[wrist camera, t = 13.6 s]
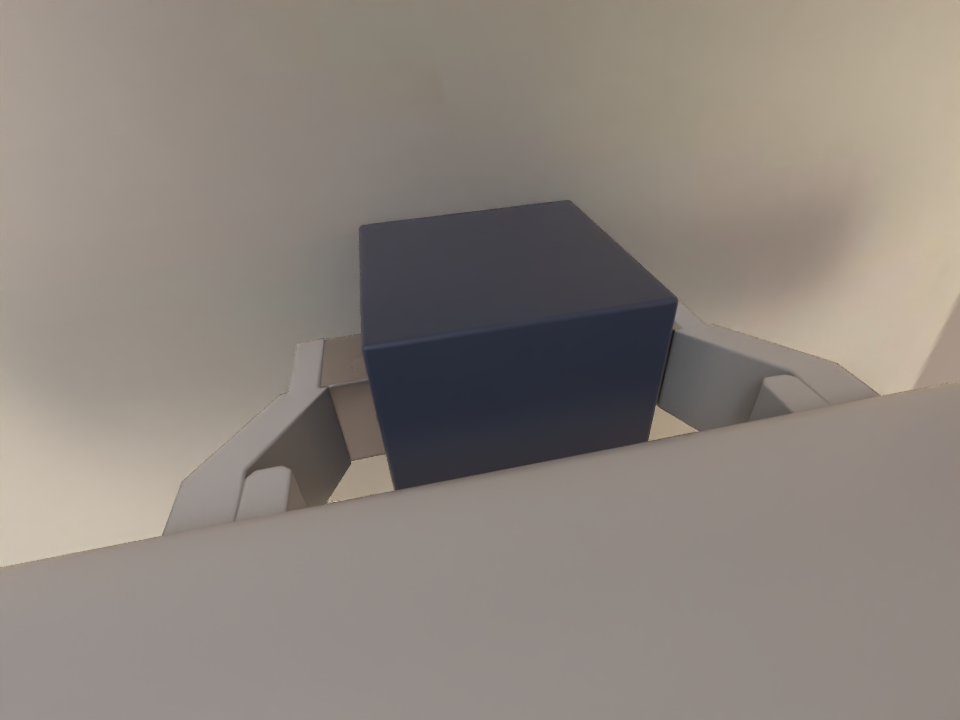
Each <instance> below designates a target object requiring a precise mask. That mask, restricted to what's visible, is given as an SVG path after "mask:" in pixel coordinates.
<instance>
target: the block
mask: <svg viewBox="0 0 960 720" xmlns="http://www.w3.org/2000/svg"><path fill="white" fill-rule="evenodd" d="M359 260H360V317H361V351H362V356H363V360H364V364H365V368H366V373H367V377H368V381H369V385H370V389H371V394H372V398H373V402H374V406H375V411H376V415H377V419H378V423H379V427H380V432H381V436H382V440H383V444H384V449H385V453H386V457H387V461H388V465H389V470H390V474H391V478H392V482H393V486H394V491H396V490H401V489H406V488H411V487H416V486H421V485H426V484H432V483H437V482H442V481H447V480H452V479H457V478H462V477H468V476H473V475H478V474H483V473H488V472H493V471H499V470H504V469H509V468H514V467H519V466H524V465H529V464H535V463H540V462H545V461H550V460H555V459H560V458H565V457H571V456H576V455H581V454H586V453H591V452H596V451H601V450H607V449H612V448H617V447H622V446H627V445H632V444H637V443H642V442H647V441H648V438H649V434H650V429H651V425H652V420H653V416H654V411H655V406H656V402H657V397H658V393H659V388H660V384H661V379H662V375H663V370H664V366H665V361H666V357H667V352H668V347H669V343H670V338H671V334H672V329H673V325H674V320H675V316H676V311H677V307H678V299H677V297H676V296H675V295H674V294H673V293H672V292H670V291H669V290H668V289H667V288H666V287H665V286H664V285H663V284H662V283H661V282H659V281H658V280H657V279H656V278H655V277H654V276H653V275H652V274H651V273H649V272H648V271H647V270H646V269H645V268H644V267H643V266H642V265H641V264H640V263H638V262H637V261H636V260H635V259H634V258H633V257H632V256H631V255H630V254H629V253H627V252H626V251H625V250H624V249H623V248H622V247H621V246H620V245H619V244H618V243H616V242H615V241H614V240H613V239H612V238H611V237H610V236H609V235H608V234H607V233H605V232H604V231H603V230H602V229H601V228H600V227H599V226H598V225H597V224H595V223H594V222H593V221H592V220H591V219H590V218H589V217H588V216H587V215H586V214H584V213H583V212H582V211H581V210H580V209H579V208H578V207H577V206H576V205H575V204H573V203H572V202H571V201H569V200H567V201H558V202H550V203H542V204H534V205H525V206H517V207H509V208H500V209H492V210H484V211H476V212H467V213H459V214H451V215H442V216H434V217H426V218H418V219H409V220H401V221H393V222H384V223H376V224H368V225H362V226H360V227H359Z"/></svg>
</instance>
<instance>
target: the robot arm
mask: <svg viewBox="0 0 960 720" xmlns="http://www.w3.org/2000/svg"><path fill="white" fill-rule="evenodd" d="M656 405H658V407H660V408H661V409H663V410H665V411H666V412H668V413H670V414H671V415H673V416H675V417H676V418H678V419H680V420H681V421H683V422H685V423H686V424H688V425H690V426H691V427H693V428H694V429H696V430H698V431H699V432H694V433H688V434H683V435H678V436H673V437H668V438H663V439H658V440H652V441H647V442H642V443H637V444H632V445H627V446H622V447H617V448H612V449H607V450H601V451H596V452H591V453H586V454H581V455H576V456H571V457H565V458H560V459H555V460H550V461H545V462H540V463H535V464H529V465H524V466H519V467H514V468H509V469H504V470H499V471H493V472H488V473H483V474H478V475H473V476H468V477H462V478H457V479H452V480H447V481H442V482H437V483H432V484H426V485H421V486H416V487H411V488H406V489H401V490H396V491H390V492H385V493H380V494H375V495H370V496H365V497H360V498H354V499H349V500H344V501H339V502H334V503H329V504H326V502H327V501H328V499H329V498H330V496H331V494H332V493H333V491H334V490H335V488H336V487H337V485H338V483H339V482H340V480H341V479H342V477H343V476H344V474H345V472H346V471H347V469H348V468H349V466H350V465H351V461H354V460H359V459H363V458H368V457H373V456H378V455H382V454H386V453H385V449H384V444H383V440H382V436H381V432H380V427H379V423H378V419H377V415H376V411H375V406H374V402H373V398H372V394H371V389H370V385H369V381H368V377H367V373H366V368H365V364H364V360H363V356H362V351H361V334H357V335H349V336H341V337H334V338H326V339H318V340H311V341H305V342H300V343H298V344H297V346H296V349H295V355H294V361H293V366H292V372H291V378H290V383H289V389H288V393H286V394H280V395H279V396H278V397H277V398H276V399H274V400H273V401H272V402H271V403H270V404H269V405H268V406H267V407H265V408H264V409H263V410H262V411H261V412H260V413H259V414H258V415H256V416H255V417H254V418H253V419H252V420H251V421H250V422H249V423H247V424H246V425H245V426H244V427H243V428H242V429H241V430H239V431H238V432H237V433H236V434H235V435H234V436H233V437H232V438H230V439H229V440H228V441H227V442H226V443H225V444H224V445H223V446H221V447H220V448H219V449H218V450H217V451H216V452H215V453H214V454H212V455H211V456H210V457H209V458H208V459H207V460H206V461H205V462H203V463H202V464H201V465H200V466H199V467H198V468H197V469H196V470H194V471H193V472H192V473H191V474H190V475H189V476H188V477H187V478H185V479H184V480H183V481H182V482H181V485H180V488H179V491H178V493H177V496H176V499H175V501H174V504H173V507H172V510H171V512H170V515H169V518H168V520H167V523H166V526H165V528H164V531H163V534H162V536H159V537H154V538H149V539H144V540H138V541H133V542H128V543H123V544H118V545H113V546H108V547H102V548H97V549H92V550H87V551H82V552H77V553H72V554H66V555H61V556H56V557H51V558H46V559H41V560H36V561H30V562H25V563H20V564H15V565H10V566H5V567H0V720H960V381H956V382H950V383H945V384H940V385H935V386H930V387H925V388H920V389H914V390H909V391H904V392H899V393H894V394H889V395H884V396H881V395H879V394H878V393H877V392H875V391H874V390H873V389H871V388H870V387H869V386H867V385H866V384H865V383H863V382H862V381H861V380H859V379H858V378H857V377H855V376H854V375H853V374H851V373H850V372H849V371H847V370H846V369H845V368H843V367H842V366H840V365H839V364H838V363H835V362H832V361H829V360H826V359H822V358H819V357H816V356H813V355H810V354H807V353H804V352H800V351H797V350H794V349H791V348H788V347H785V346H782V345H778V344H775V343H772V342H769V341H766V340H763V339H760V338H756V337H753V336H750V335H747V334H744V333H741V332H737V331H734V330H731V329H728V328H725V327H722V326H719V325H715V324H709V325H706V324H705V323H704V322H703V321H702V320H700V319H699V318H698V317H697V316H696V315H695V314H694V313H693V312H692V311H690V310H689V309H688V308H687V307H686V306H685V305H684V304H683V303H682V302H680V301H679V300H678V307H677V311H676V316H675V320H674V325H673V329H672V334H671V338H670V343H669V347H668V352H667V357H666V361H665V366H664V370H663V375H662V379H661V384H660V388H659V393H658V397H657V402H656Z"/></svg>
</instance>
